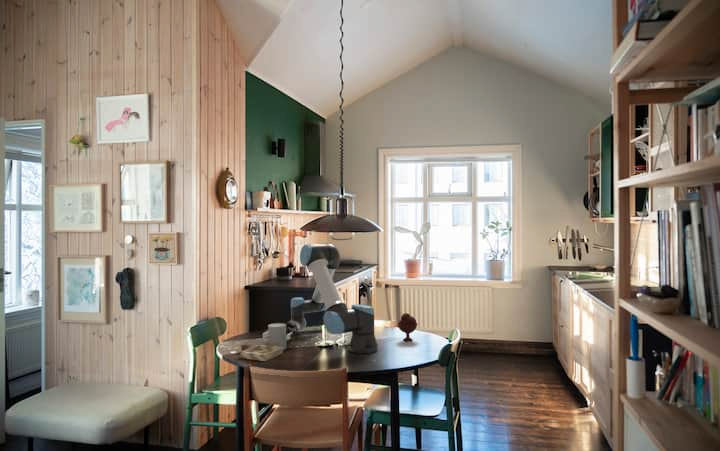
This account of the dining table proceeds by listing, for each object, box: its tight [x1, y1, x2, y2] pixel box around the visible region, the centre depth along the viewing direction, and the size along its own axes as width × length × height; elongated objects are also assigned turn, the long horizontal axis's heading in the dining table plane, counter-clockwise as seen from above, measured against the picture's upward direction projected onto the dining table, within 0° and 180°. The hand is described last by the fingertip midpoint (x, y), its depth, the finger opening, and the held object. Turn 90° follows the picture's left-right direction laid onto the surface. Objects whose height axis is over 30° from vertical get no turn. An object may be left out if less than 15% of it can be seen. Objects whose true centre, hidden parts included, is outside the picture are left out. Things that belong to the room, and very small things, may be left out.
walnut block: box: [240, 342, 252, 352], centre depth 251 cm, size 4×4×4 cm
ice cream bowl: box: [397, 312, 418, 343], centre depth 270 cm, size 11×11×15 cm
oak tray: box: [239, 344, 284, 362], centre depth 243 cm, size 15×15×3 cm
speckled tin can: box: [267, 322, 287, 351], centre depth 257 cm, size 10×10×12 cm
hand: (275, 336), depth 255 cm, fingers open, 13 cm apart
